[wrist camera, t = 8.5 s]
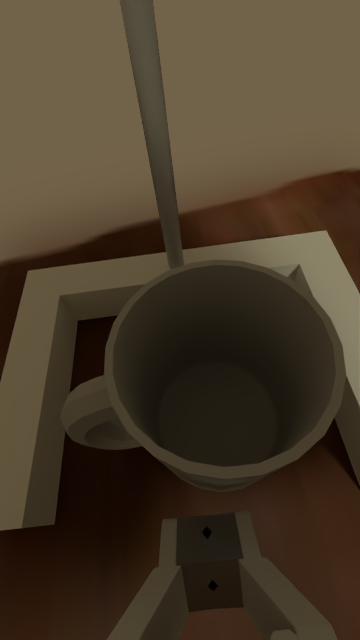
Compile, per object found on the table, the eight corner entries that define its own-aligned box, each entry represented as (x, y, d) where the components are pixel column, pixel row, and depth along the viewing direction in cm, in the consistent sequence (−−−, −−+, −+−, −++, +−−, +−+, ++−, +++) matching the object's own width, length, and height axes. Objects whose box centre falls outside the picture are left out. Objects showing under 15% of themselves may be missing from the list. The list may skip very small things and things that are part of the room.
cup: (306, 471, 15) (403, 436, 7) (111, 525, 14) (-1, 546, 7) (254, 347, 19) (283, 240, 11) (99, 386, 18) (20, 303, 11)
